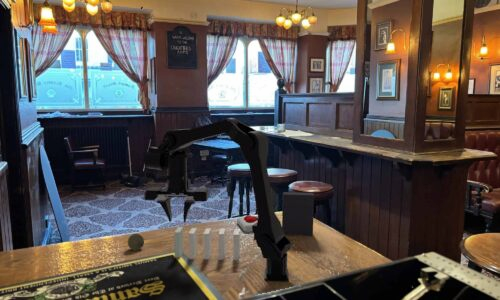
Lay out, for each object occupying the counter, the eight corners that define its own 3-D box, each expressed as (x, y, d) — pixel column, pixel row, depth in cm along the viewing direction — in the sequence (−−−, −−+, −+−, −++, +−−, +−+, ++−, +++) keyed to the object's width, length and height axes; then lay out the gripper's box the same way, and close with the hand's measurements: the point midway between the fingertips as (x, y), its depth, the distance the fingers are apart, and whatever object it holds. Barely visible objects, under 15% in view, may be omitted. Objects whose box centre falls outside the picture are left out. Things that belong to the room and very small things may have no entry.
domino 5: (238, 260, 114) (238, 234, 113) (233, 260, 115) (233, 234, 114) (239, 253, 119) (240, 229, 118) (234, 253, 119) (234, 228, 118)
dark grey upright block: (312, 232, 139) (313, 192, 137) (312, 236, 135) (314, 195, 133) (282, 231, 140) (282, 191, 138) (281, 235, 136) (282, 194, 134)
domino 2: (194, 259, 115) (193, 233, 114) (188, 258, 115) (188, 233, 114) (197, 252, 120) (197, 228, 119) (192, 252, 120) (191, 227, 119)
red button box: (270, 220, 141) (244, 222, 138) (270, 231, 141) (244, 233, 138) (260, 211, 152) (236, 212, 150) (260, 221, 153) (236, 223, 150)
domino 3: (208, 259, 115) (208, 233, 114) (203, 259, 115) (203, 233, 114) (211, 252, 120) (211, 228, 119) (206, 252, 120) (206, 228, 119)
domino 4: (223, 259, 115) (223, 234, 114) (218, 259, 115) (218, 234, 114) (225, 253, 120) (225, 228, 119) (220, 253, 120) (220, 228, 119)
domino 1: (179, 257, 116) (179, 232, 115) (174, 257, 116) (174, 232, 115) (183, 251, 121) (183, 227, 120) (178, 251, 121) (178, 226, 120)
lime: (146, 247, 124) (145, 232, 123) (135, 252, 120) (135, 237, 119) (135, 245, 126) (134, 230, 125) (124, 250, 121) (124, 235, 121)
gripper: (211, 167, 122) (212, 214, 124) (154, 166, 123) (155, 213, 125) (206, 173, 111) (206, 225, 113) (143, 172, 112) (144, 224, 114)
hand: (177, 221), depth 117 cm, fingers open, 4 cm apart
